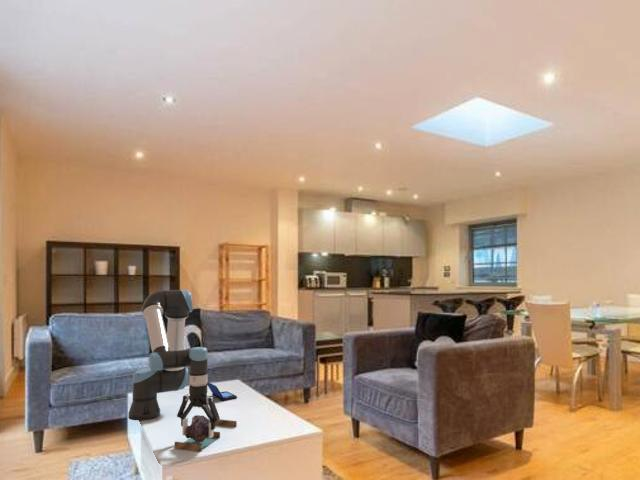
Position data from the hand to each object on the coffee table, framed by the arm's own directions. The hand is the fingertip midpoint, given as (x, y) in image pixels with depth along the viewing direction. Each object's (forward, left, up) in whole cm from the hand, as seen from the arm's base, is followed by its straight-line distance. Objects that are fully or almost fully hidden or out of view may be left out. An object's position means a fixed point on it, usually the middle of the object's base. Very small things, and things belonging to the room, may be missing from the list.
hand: (197, 435), depth 192 cm
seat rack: (0, +7, -3) cm, 8 cm away
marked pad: (0, 0, -3) cm, 3 cm away
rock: (+1, 0, -1) cm, 1 cm away
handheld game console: (-26, +64, -4) cm, 70 cm away
